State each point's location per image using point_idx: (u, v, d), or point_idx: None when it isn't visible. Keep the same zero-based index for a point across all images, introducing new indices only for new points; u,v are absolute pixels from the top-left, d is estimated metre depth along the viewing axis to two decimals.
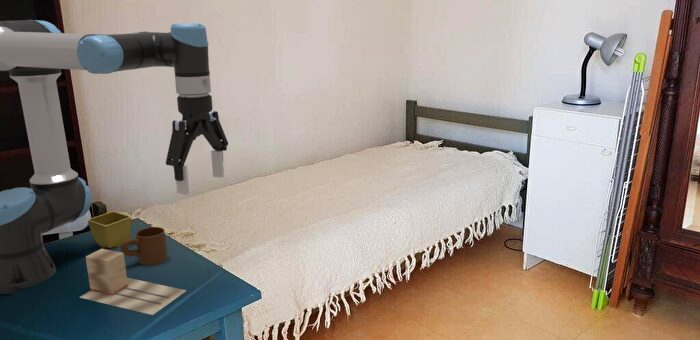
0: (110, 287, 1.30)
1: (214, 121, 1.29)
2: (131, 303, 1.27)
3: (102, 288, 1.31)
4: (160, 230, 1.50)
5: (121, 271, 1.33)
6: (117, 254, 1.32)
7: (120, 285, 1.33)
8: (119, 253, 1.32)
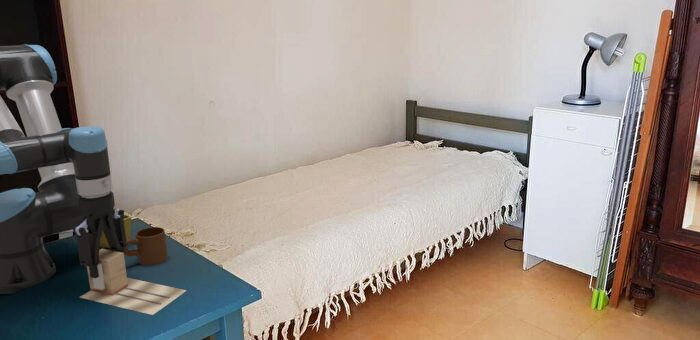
0: (110, 287, 1.30)
1: (118, 219, 1.34)
2: (131, 303, 1.27)
3: None
4: (160, 230, 1.50)
5: (121, 271, 1.33)
6: (117, 254, 1.32)
7: (120, 285, 1.33)
8: (119, 253, 1.32)
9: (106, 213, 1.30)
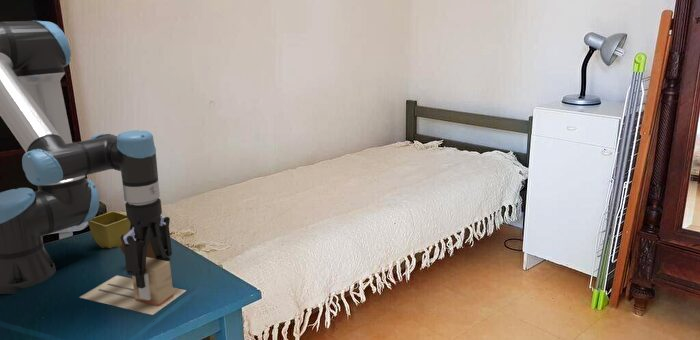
0: (157, 297, 1.25)
1: (163, 226, 1.29)
2: (131, 303, 1.27)
3: None
4: None
5: (167, 281, 1.28)
6: (163, 263, 1.27)
7: (166, 295, 1.28)
8: (165, 262, 1.27)
9: (153, 220, 1.25)
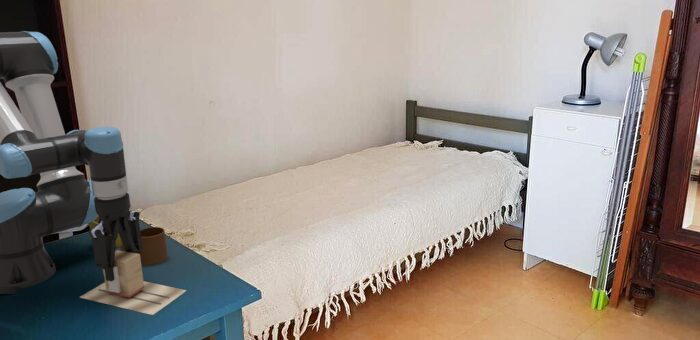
0: (127, 289, 1.28)
1: (133, 221, 1.32)
2: (131, 303, 1.27)
3: None
4: (160, 230, 1.50)
5: (137, 273, 1.31)
6: (133, 255, 1.30)
7: (137, 287, 1.31)
8: (135, 254, 1.30)
9: (122, 215, 1.28)
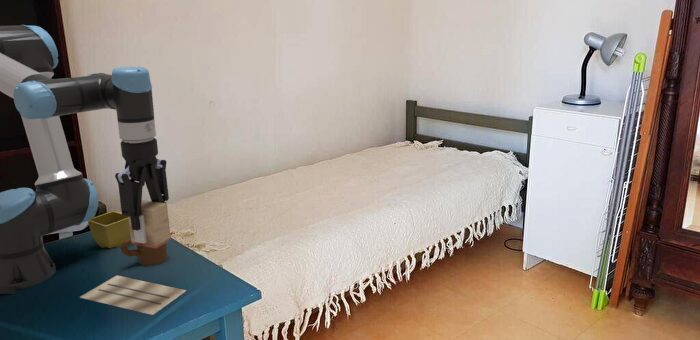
0: (153, 239, 1.22)
1: (160, 169, 1.26)
2: (131, 303, 1.27)
3: None
4: None
5: (164, 223, 1.24)
6: (160, 204, 1.24)
7: (163, 238, 1.25)
8: (162, 204, 1.24)
9: (149, 161, 1.21)
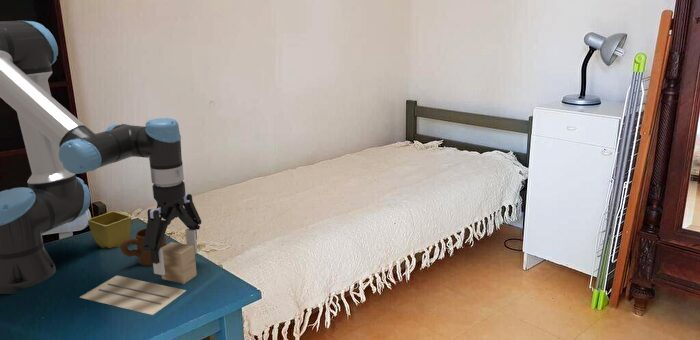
0: (182, 278, 1.36)
1: (188, 203, 1.40)
2: (131, 303, 1.27)
3: (174, 279, 1.37)
4: None
5: (191, 264, 1.38)
6: (188, 247, 1.38)
7: (190, 277, 1.39)
8: (190, 246, 1.38)
9: (177, 204, 1.35)
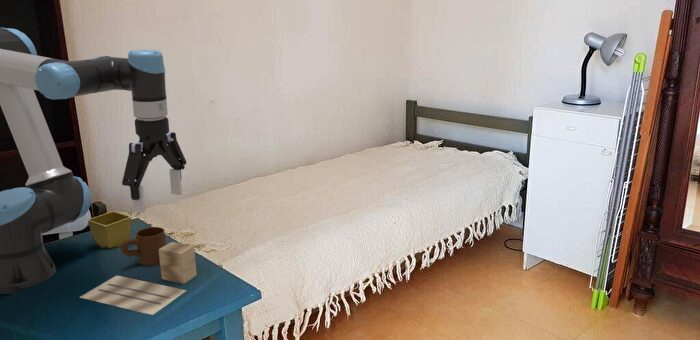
0: (182, 278, 1.36)
1: (172, 142, 1.35)
2: (131, 303, 1.27)
3: (174, 279, 1.37)
4: (160, 230, 1.50)
5: (191, 264, 1.38)
6: (188, 247, 1.38)
7: (190, 277, 1.39)
8: (190, 246, 1.38)
9: None
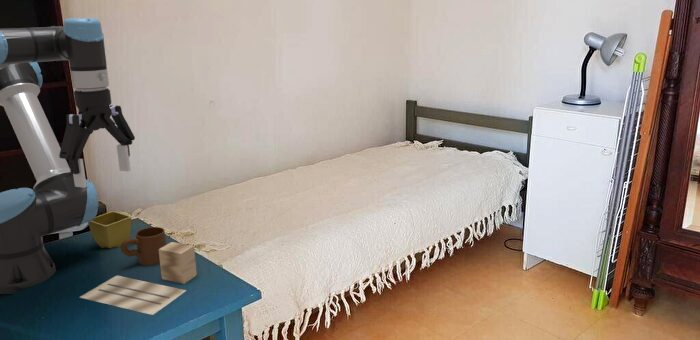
0: (182, 278, 1.36)
1: (117, 115, 1.30)
2: (131, 303, 1.27)
3: (174, 279, 1.37)
4: (160, 230, 1.50)
5: (191, 264, 1.38)
6: (188, 247, 1.38)
7: (190, 277, 1.39)
8: (190, 246, 1.38)
9: None
